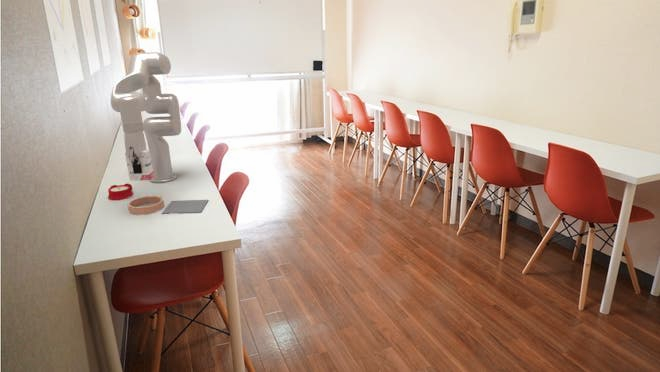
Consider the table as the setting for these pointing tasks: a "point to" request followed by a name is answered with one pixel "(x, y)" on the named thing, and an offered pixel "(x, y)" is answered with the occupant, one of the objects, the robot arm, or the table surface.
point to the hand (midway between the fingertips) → (140, 170)
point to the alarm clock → (120, 192)
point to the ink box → (145, 165)
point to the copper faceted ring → (147, 209)
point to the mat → (185, 206)
